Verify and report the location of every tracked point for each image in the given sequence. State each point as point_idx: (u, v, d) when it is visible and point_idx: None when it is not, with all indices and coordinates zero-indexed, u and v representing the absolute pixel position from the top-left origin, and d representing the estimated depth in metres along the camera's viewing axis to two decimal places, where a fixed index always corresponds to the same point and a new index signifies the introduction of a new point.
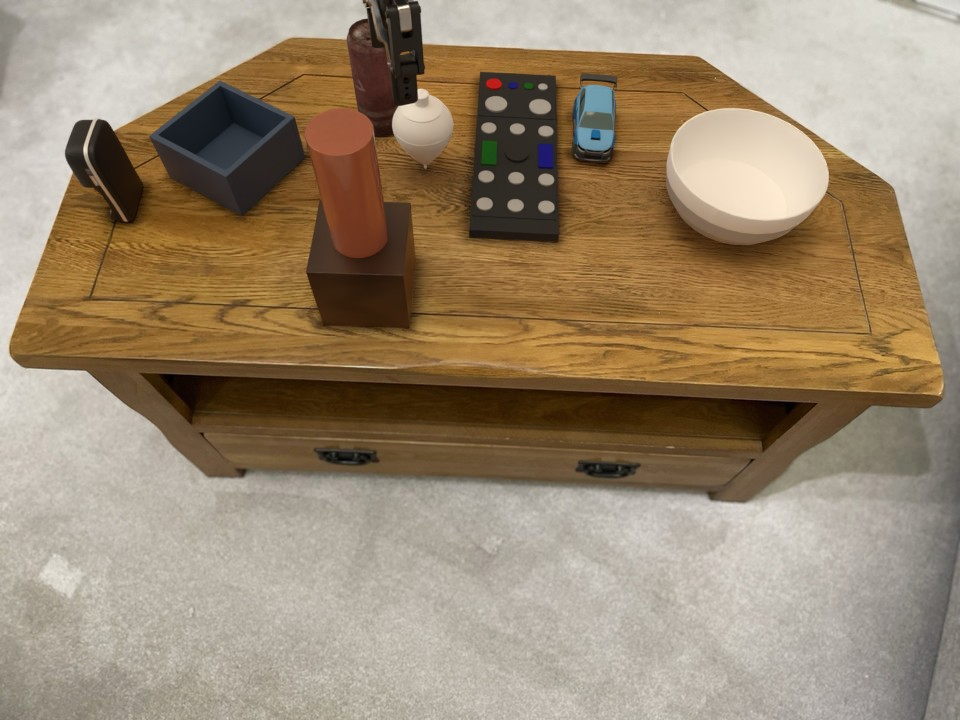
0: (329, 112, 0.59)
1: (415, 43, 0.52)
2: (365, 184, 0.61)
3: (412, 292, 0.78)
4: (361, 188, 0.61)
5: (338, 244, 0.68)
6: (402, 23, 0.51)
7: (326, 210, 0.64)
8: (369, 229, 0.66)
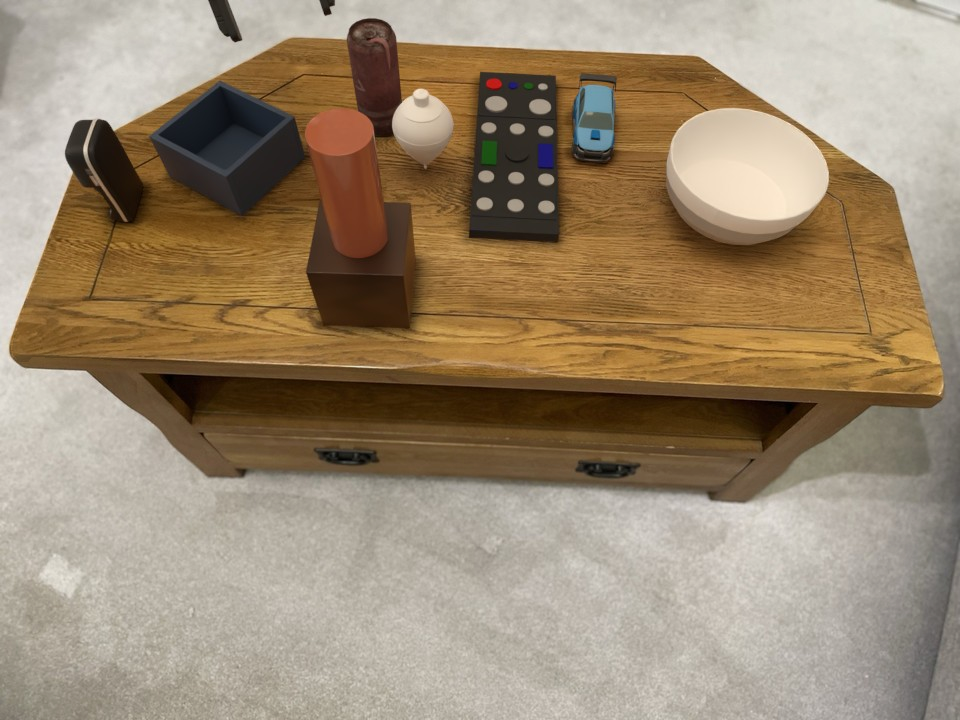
0: (329, 112, 0.59)
1: None
2: (365, 184, 0.61)
3: (412, 292, 0.78)
4: (361, 188, 0.61)
5: (338, 244, 0.68)
6: None
7: (326, 210, 0.64)
8: (369, 229, 0.66)
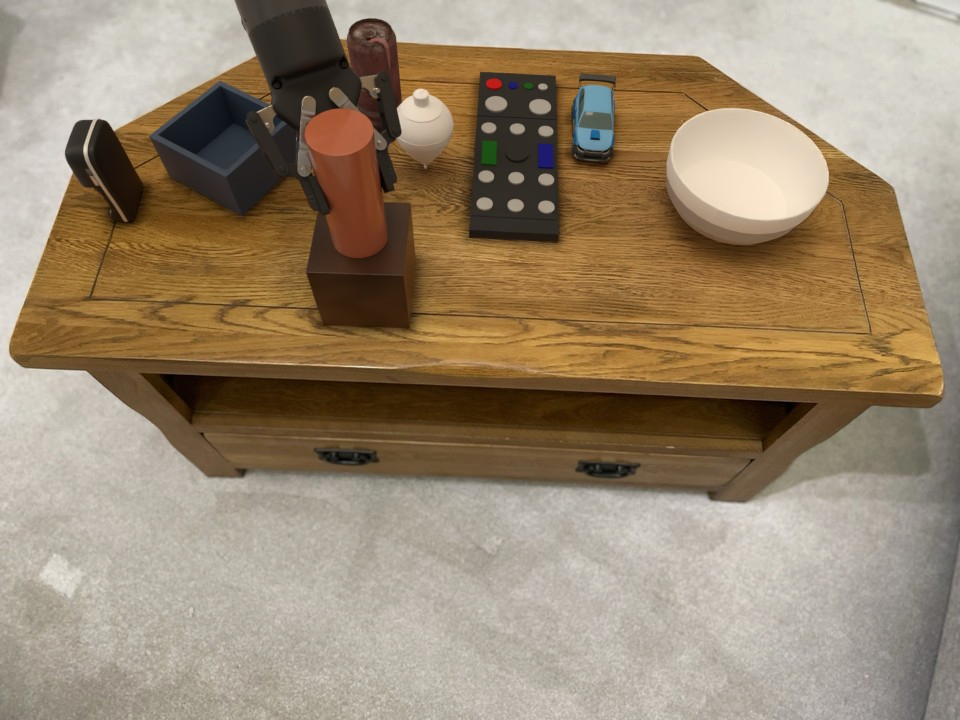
0: (328, 112, 0.59)
1: None
2: (365, 184, 0.61)
3: (412, 292, 0.78)
4: (361, 188, 0.61)
5: (338, 244, 0.68)
6: None
7: None
8: (369, 229, 0.66)
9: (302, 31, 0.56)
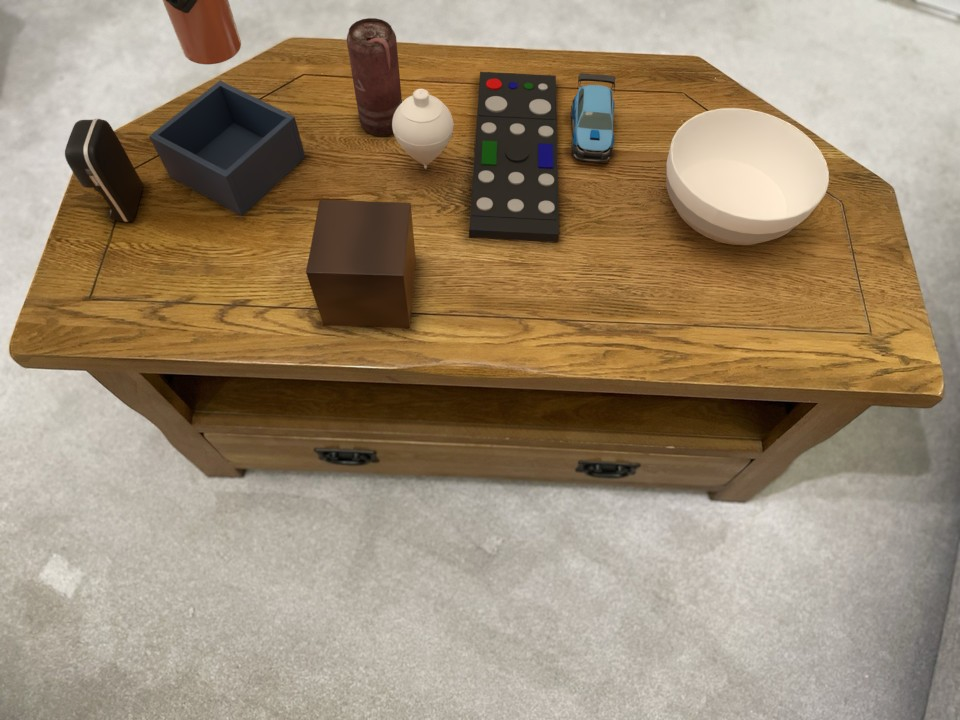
0: None
1: None
2: None
3: (412, 292, 0.78)
4: None
5: (208, 51, 0.67)
6: None
7: None
8: (228, 12, 0.67)
9: None
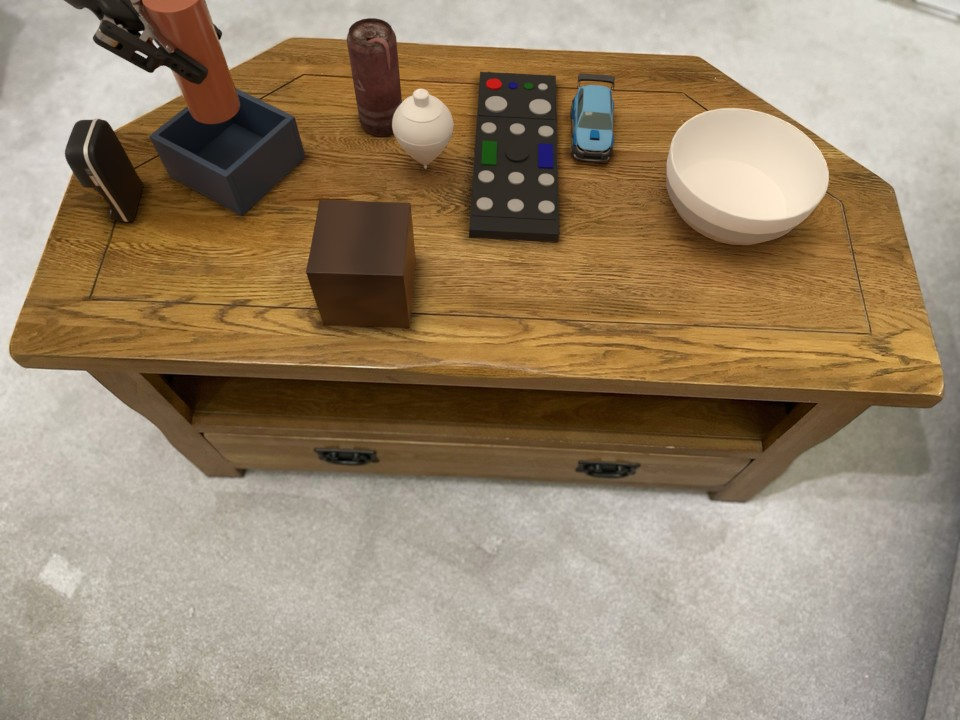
0: None
1: None
2: (214, 28, 0.72)
3: (412, 292, 0.78)
4: (214, 33, 0.72)
5: (216, 112, 0.78)
6: None
7: None
8: (230, 78, 0.77)
9: None
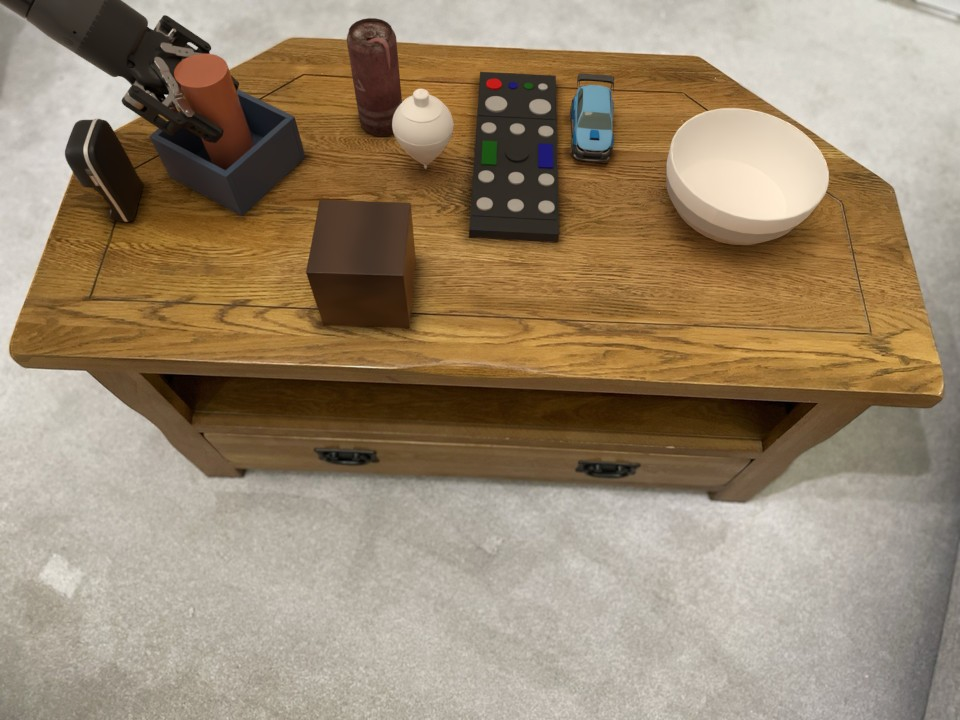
0: (178, 68, 0.76)
1: None
2: (238, 97, 0.80)
3: (412, 292, 0.78)
4: (238, 101, 0.80)
5: None
6: None
7: (222, 143, 0.81)
8: (251, 138, 0.85)
9: (121, 10, 0.70)
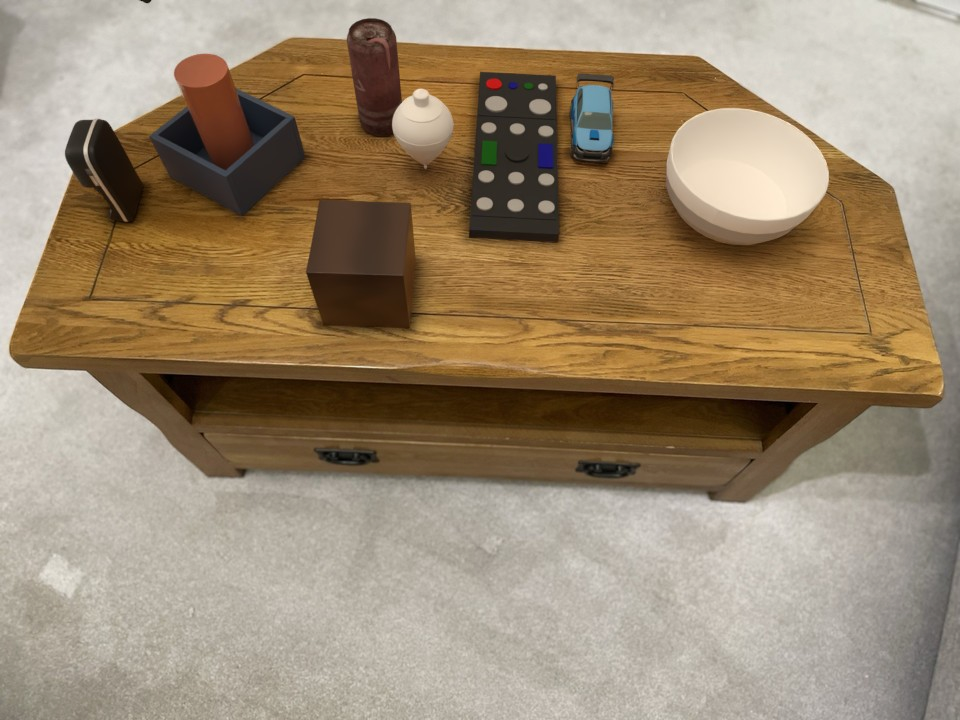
0: (178, 68, 0.76)
1: None
2: (238, 97, 0.80)
3: (412, 292, 0.78)
4: (238, 101, 0.80)
5: None
6: None
7: (222, 143, 0.81)
8: (251, 138, 0.85)
9: None
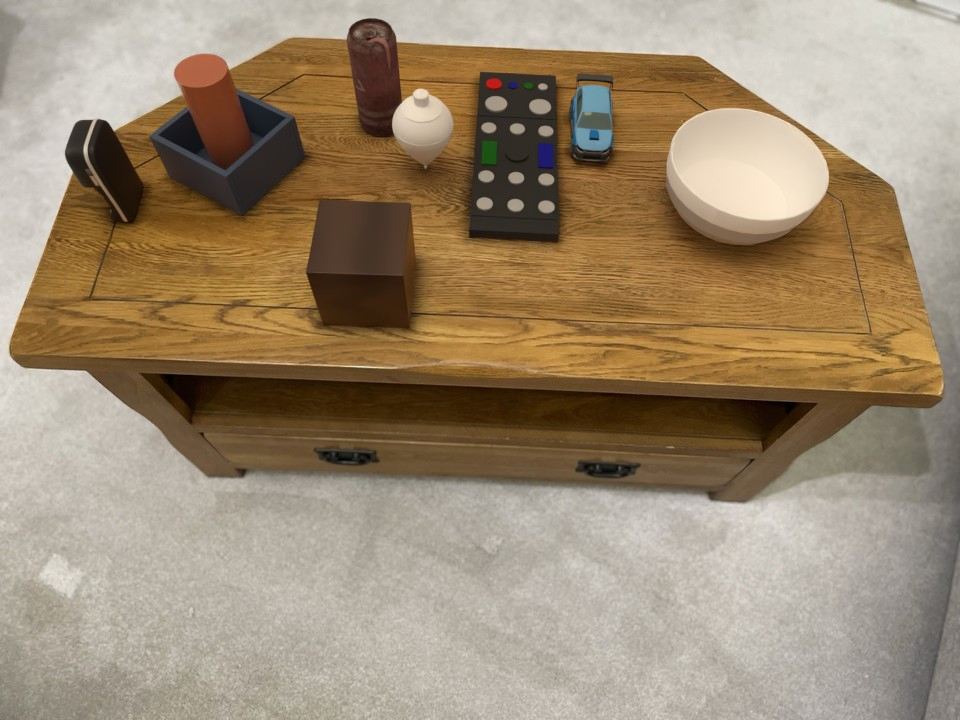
0: (178, 68, 0.76)
1: None
2: (238, 97, 0.80)
3: (412, 292, 0.78)
4: (238, 101, 0.80)
5: None
6: None
7: (222, 143, 0.81)
8: (251, 138, 0.85)
9: None
